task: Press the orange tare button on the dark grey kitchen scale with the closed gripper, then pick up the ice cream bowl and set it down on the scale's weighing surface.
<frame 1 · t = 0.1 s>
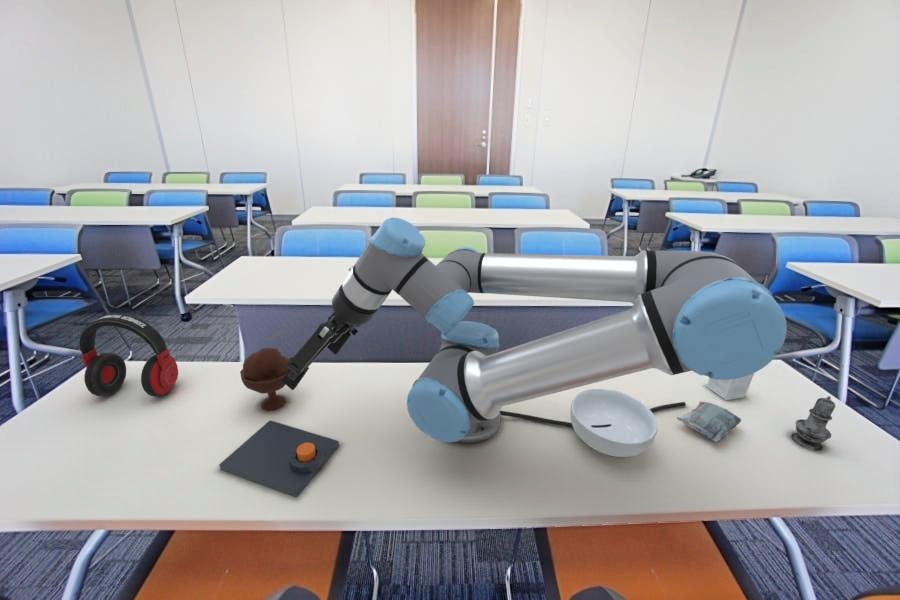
hand: (311, 366, 79), 15 cm above the table, tool tilted 35°, fingers open, 13 cm apart
ice cream bowl: (273, 404, 92), on the table
packaged food: (704, 428, 89), on the table
product box: (724, 392, 101), on the table
tare button: (306, 452, 74), point 4 cm above the table, slide at 0.1 cm
grey tapered upright piece: (806, 442, 86), on the table
cereal bowl: (606, 439, 85), on the table
headphones: (139, 392, 94), on the table
scale: (282, 457, 77), on the table
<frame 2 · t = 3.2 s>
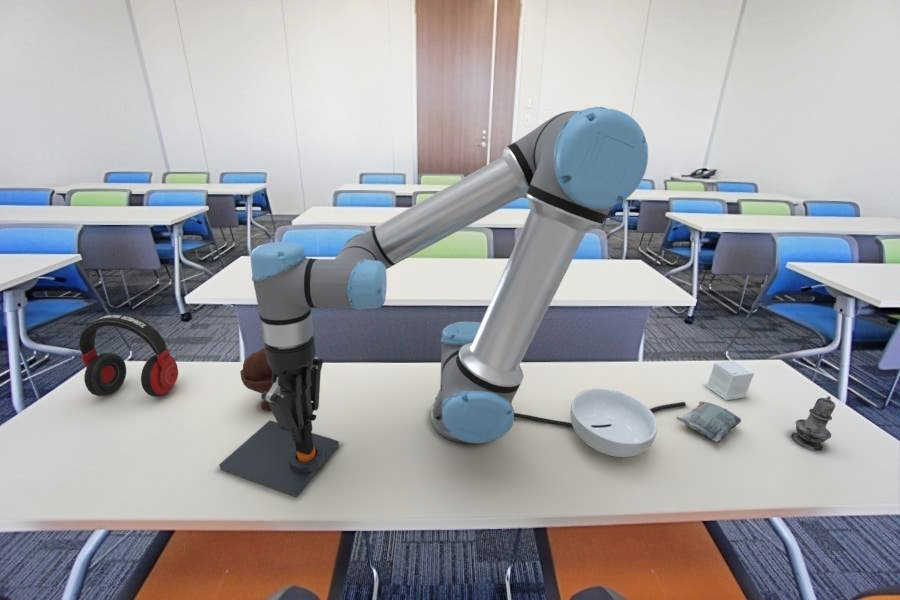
hand: (305, 449, 74), 4 cm above the table, tool pointing down, fingers closed
tare button: (306, 454, 74), point 3 cm above the table, slide at -0.4 cm, touching gripper
everything else where it was.
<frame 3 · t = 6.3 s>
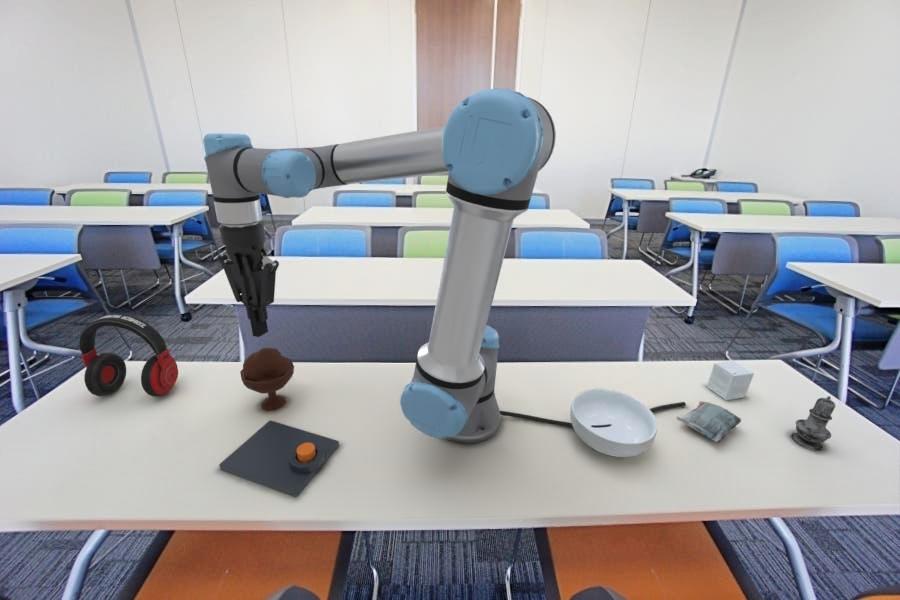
hand: (260, 333, 84), 19 cm above the table, tool pointing down, fingers closed
tare button: (306, 452, 74), point 4 cm above the table, slide at 0.1 cm
everything else where it was.
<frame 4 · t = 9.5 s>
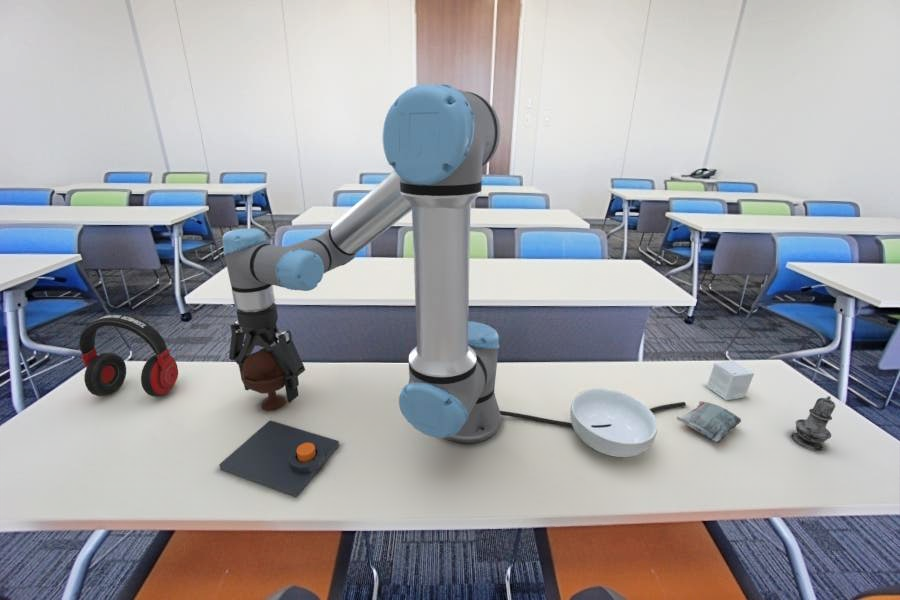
hand: (271, 392, 90), 3 cm above the table, tool pointing down, fingers closed on ice cream bowl, 11 cm apart
ice cream bowl: (273, 404, 92), on the table, touching gripper
everything else where it was.
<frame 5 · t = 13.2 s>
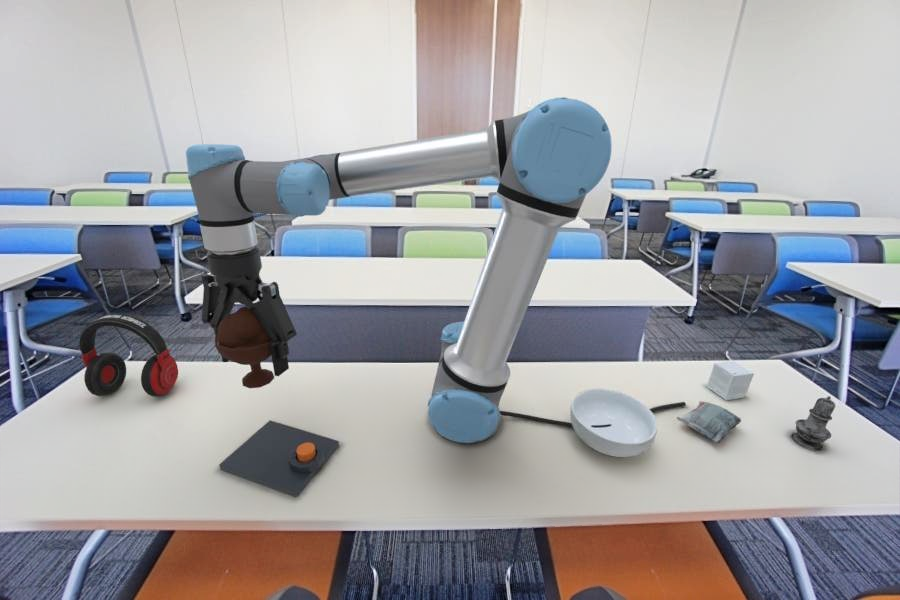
hand: (255, 365, 72), 19 cm above the table, tool pointing down, fingers closed on ice cream bowl, 11 cm apart
ice cream bowl: (258, 380, 73), point 16 cm above the table, touching gripper
everything else where it was.
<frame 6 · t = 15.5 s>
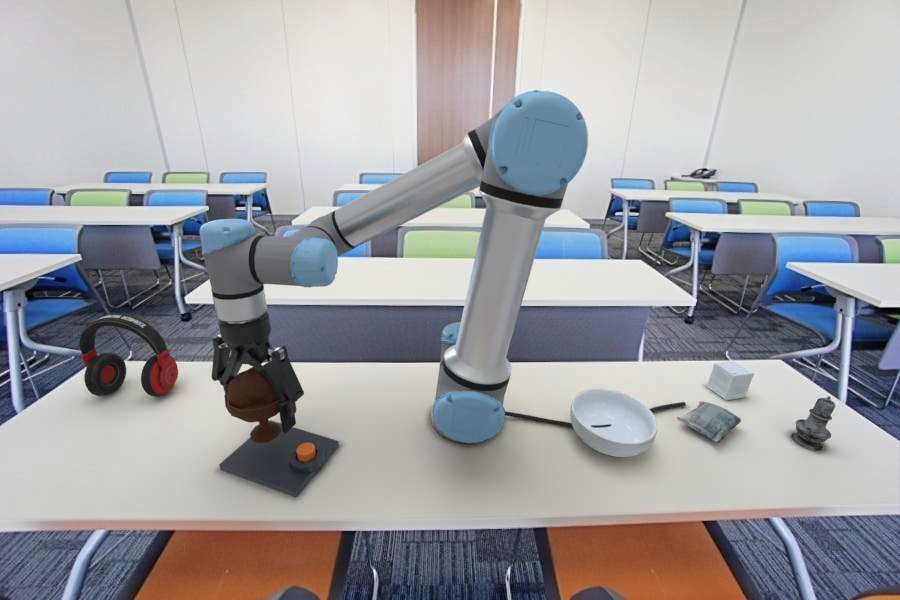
hand: (263, 419, 74), 8 cm above the table, tool pointing down, fingers closed on ice cream bowl, 11 cm apart
ice cream bowl: (266, 433, 76), point 5 cm above the table, touching gripper
everything else where it was.
when the fingers open (4 cm above the table, at t = 17.3 s): ice cream bowl stays where it is, resting on scale.
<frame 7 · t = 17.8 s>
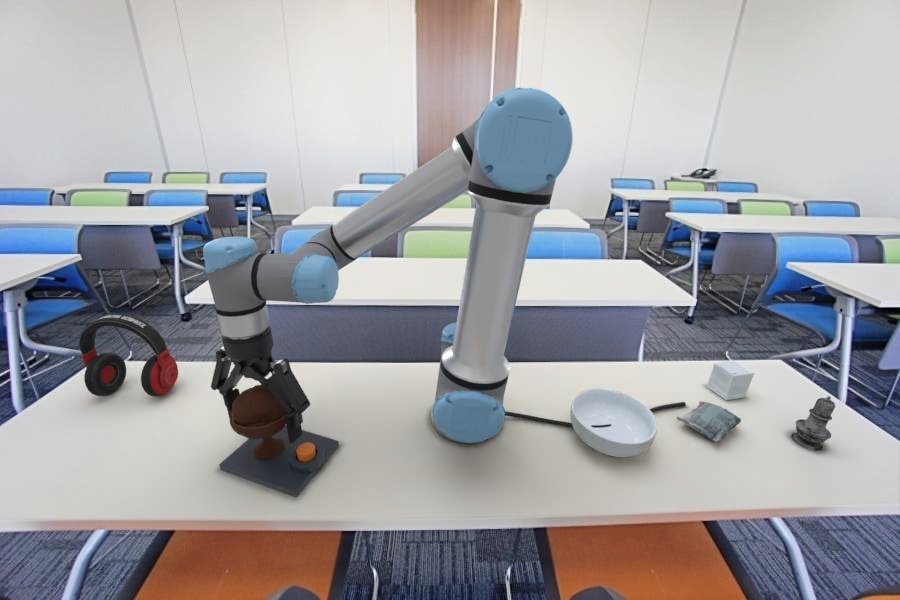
hand: (266, 429, 75), 6 cm above the table, tool pointing down, fingers open, 13 cm apart
ice cream bowl: (269, 449, 77), point 1 cm above the table, touching scale
everything else where it was.
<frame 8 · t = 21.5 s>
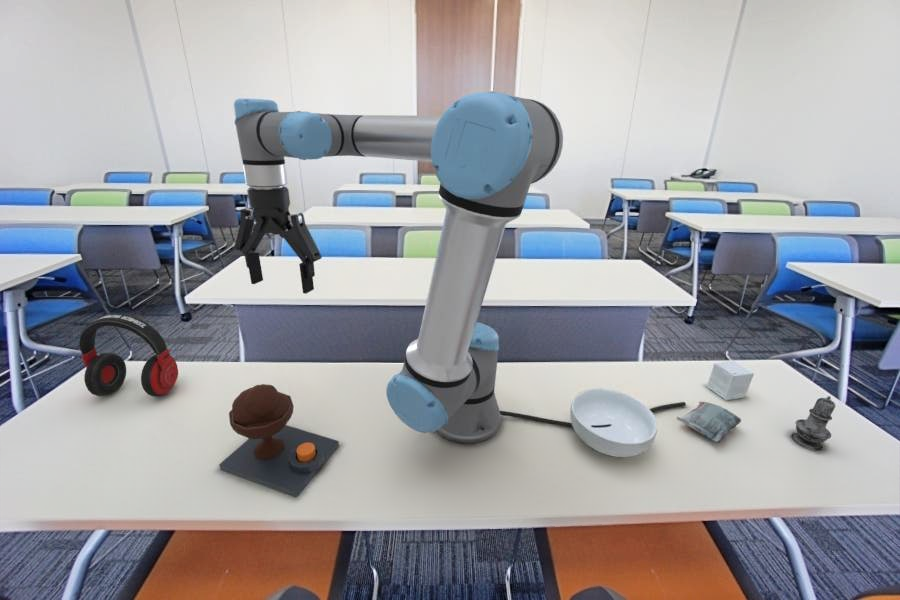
hand: (282, 286, 87), 27 cm above the table, tool pointing down, fingers open, 13 cm apart
nothing on the table moved.
at the end: tare button pushed in 0.8 cm at the most during the clip, back to where it started at the end; ice cream bowl inside the target area on the scale (0.0 cm from its centre), point 1.2 cm above the scale's base; ice cream bowl touching scale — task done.
